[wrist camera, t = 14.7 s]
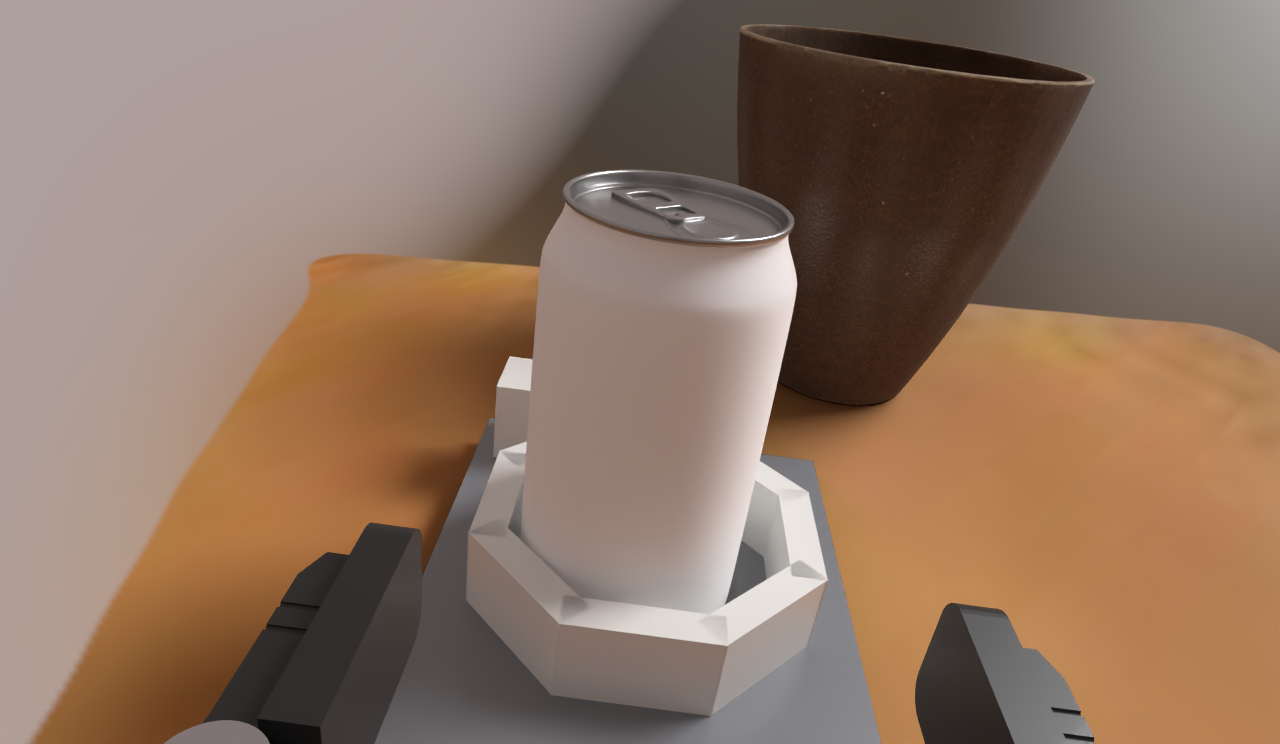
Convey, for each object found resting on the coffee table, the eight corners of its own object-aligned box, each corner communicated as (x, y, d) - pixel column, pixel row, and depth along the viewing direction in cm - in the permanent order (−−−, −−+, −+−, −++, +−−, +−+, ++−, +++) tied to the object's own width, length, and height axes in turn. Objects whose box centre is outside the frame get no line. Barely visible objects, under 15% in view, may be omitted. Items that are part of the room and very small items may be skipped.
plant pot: (779, 468, 34) (878, 65, 27) (642, 318, 46) (684, 11, 39) (1038, 430, 40) (1177, 91, 33) (858, 306, 52) (930, 37, 45)
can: (594, 698, 21) (656, 262, 16) (479, 552, 26) (495, 171, 20) (770, 609, 25) (869, 231, 19) (643, 495, 29) (695, 160, 24)
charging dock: (806, 485, 33) (830, 396, 31) (893, 882, 19) (945, 763, 17) (488, 442, 33) (493, 350, 31) (338, 811, 19) (329, 682, 17)
